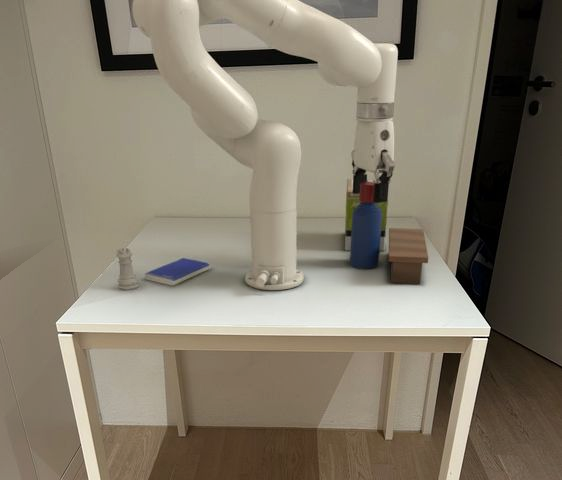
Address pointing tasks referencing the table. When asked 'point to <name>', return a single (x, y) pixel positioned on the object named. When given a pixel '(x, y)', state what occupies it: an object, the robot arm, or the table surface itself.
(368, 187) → the cap
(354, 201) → the tea box
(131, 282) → the rook chess piece
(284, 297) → the table surface
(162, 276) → the blue book
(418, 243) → the brown wooden box
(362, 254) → the bottle
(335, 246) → the table surface
